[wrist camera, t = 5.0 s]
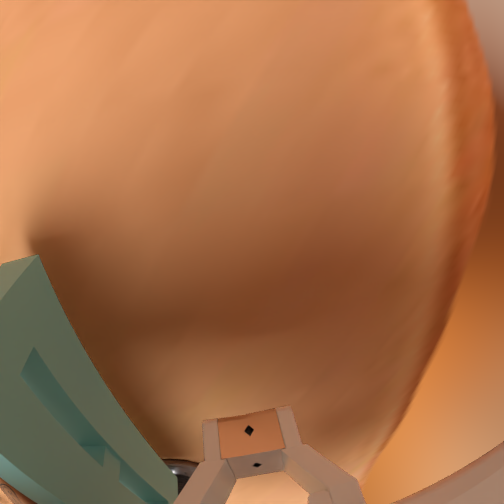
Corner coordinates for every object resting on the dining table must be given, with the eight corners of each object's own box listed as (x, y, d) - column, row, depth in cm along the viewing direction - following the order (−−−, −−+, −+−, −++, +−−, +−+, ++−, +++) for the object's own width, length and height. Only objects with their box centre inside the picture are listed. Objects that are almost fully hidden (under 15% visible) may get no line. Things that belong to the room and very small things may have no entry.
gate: (177, 477, 16) (182, 559, 11) (151, 478, 16) (152, 558, 10) (38, 254, 9) (-59, 391, 3) (2, 263, 8) (-91, 385, 3)
